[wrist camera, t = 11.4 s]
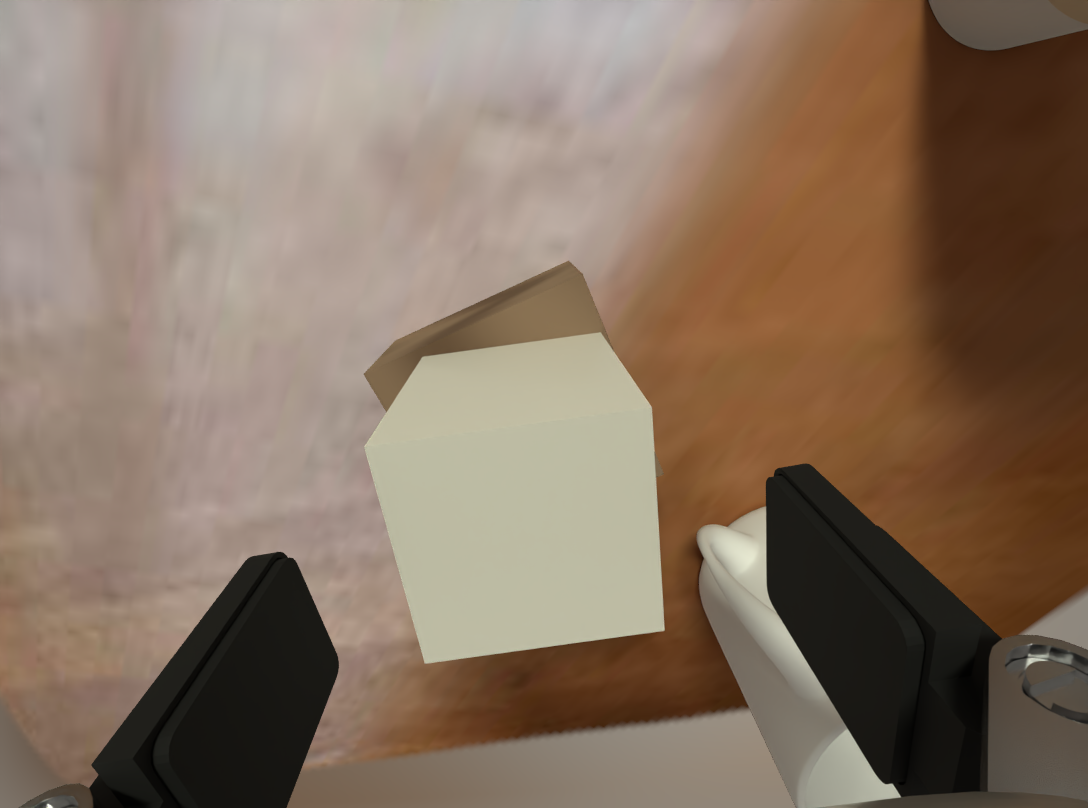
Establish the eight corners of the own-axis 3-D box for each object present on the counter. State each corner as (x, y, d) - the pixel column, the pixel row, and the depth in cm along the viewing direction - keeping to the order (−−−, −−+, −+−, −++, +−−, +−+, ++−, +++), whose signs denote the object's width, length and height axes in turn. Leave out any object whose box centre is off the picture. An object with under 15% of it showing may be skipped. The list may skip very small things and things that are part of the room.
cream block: (600, 332, 17) (651, 407, 11) (614, 488, 19) (664, 630, 13) (422, 356, 17) (364, 446, 11) (456, 509, 19) (425, 663, 13)
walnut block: (568, 260, 21) (582, 274, 16) (635, 422, 24) (664, 474, 19) (396, 339, 22) (363, 373, 17) (480, 488, 25) (471, 552, 20)
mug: (735, 423, 24) (893, 576, 14) (889, 554, 27) (1108, 757, 17) (611, 546, 26) (671, 756, 16) (767, 655, 29) (898, 888, 19)
